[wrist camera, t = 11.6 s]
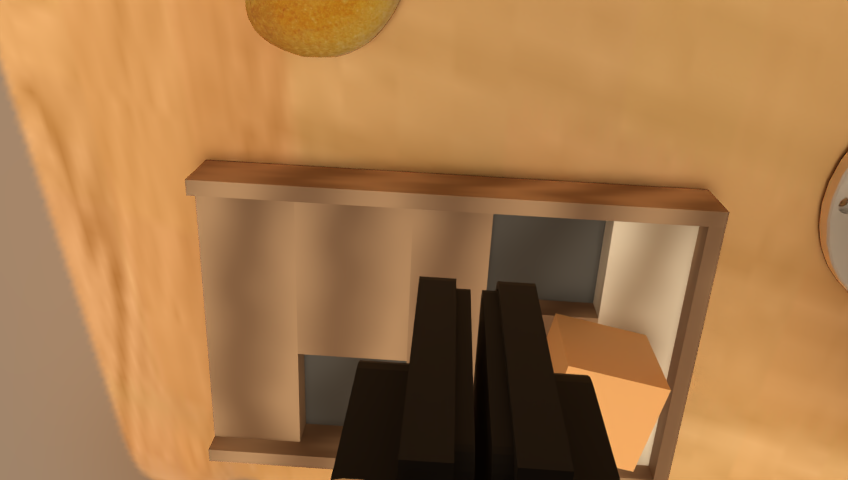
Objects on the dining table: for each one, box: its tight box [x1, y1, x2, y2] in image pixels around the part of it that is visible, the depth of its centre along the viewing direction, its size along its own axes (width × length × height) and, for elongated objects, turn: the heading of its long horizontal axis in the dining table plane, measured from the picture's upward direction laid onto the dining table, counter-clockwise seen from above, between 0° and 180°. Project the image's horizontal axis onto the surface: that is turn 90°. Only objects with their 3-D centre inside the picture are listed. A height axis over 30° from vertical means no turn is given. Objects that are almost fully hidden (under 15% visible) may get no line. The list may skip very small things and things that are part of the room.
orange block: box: [547, 313, 671, 472], centre depth 38 cm, size 5×5×5 cm
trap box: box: [185, 160, 729, 480], centre depth 40 cm, size 26×17×3 cm, turn 87°
